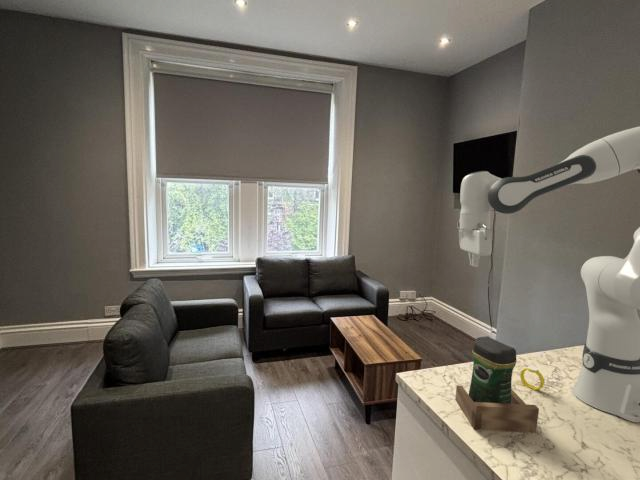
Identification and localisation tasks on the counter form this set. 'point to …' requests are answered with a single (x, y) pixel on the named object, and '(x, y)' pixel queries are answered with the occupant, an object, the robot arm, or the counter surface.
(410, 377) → the counter surface
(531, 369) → the watch
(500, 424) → the wooden frame
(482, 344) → the coffee jar
